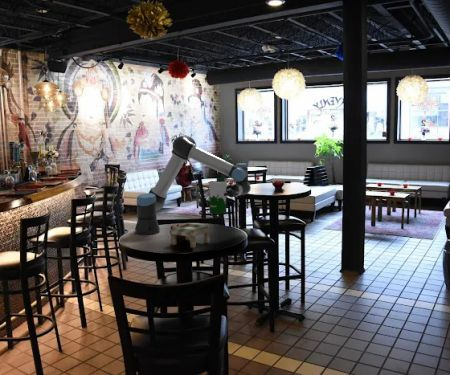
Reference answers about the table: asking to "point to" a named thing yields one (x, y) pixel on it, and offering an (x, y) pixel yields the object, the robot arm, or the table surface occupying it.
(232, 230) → the table surface
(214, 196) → the milk carton
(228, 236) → the table surface
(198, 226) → the stool
